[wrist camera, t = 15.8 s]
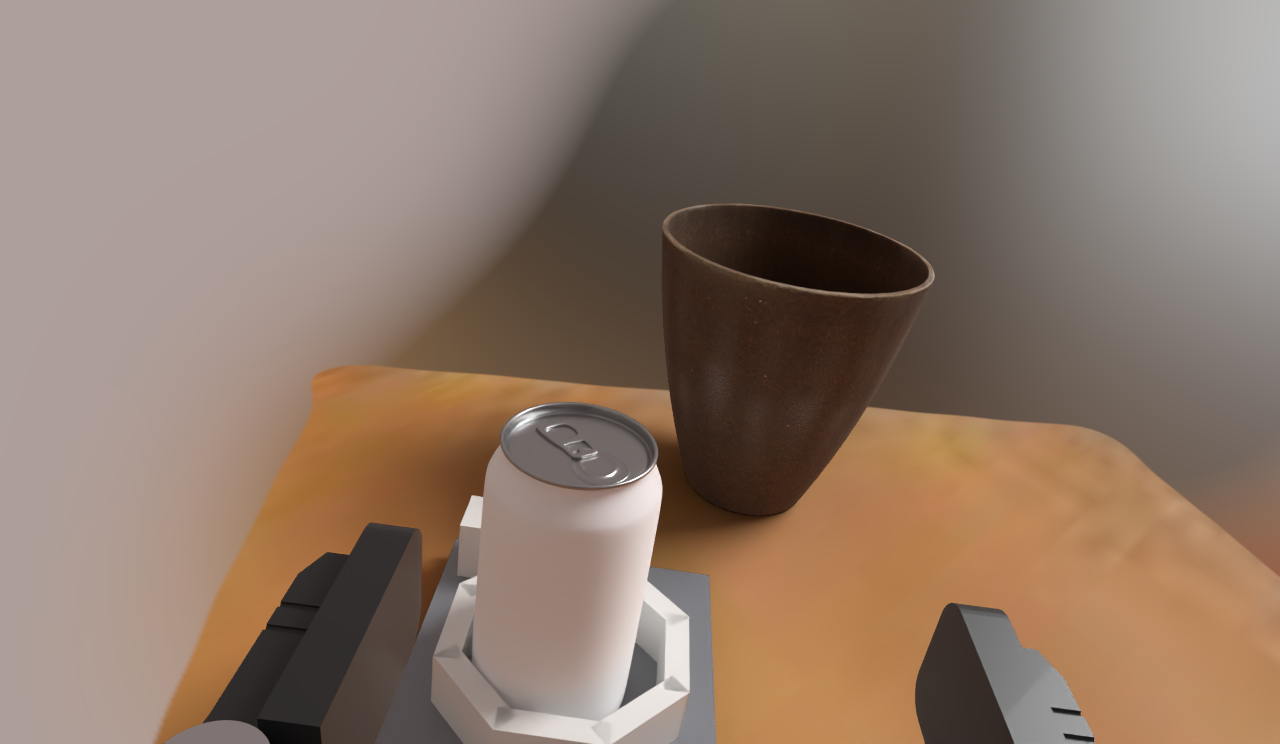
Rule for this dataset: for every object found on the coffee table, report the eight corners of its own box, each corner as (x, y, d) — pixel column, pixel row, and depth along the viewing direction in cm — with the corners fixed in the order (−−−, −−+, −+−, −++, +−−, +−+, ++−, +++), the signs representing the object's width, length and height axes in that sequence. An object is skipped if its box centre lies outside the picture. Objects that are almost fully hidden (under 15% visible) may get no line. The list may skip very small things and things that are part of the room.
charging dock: (704, 593, 43) (720, 528, 41) (715, 912, 28) (739, 834, 26) (455, 556, 42) (459, 489, 40) (337, 859, 28) (335, 777, 26)
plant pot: (685, 577, 43) (746, 298, 36) (590, 430, 55) (622, 198, 48) (905, 538, 50) (995, 292, 42) (777, 413, 61) (830, 205, 54)
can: (518, 779, 30) (550, 516, 25) (442, 661, 35) (455, 416, 29) (655, 707, 34) (707, 466, 29) (571, 609, 38) (603, 383, 33)
